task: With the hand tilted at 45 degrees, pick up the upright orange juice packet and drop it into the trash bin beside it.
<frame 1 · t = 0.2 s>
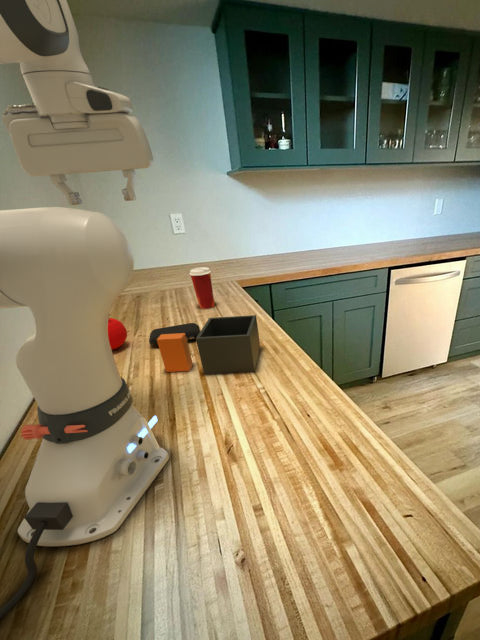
hand: (103, 202, 59), 39 cm above the table, tool pointing down, fingers open, 8 cm apart
tomato: (112, 349, 100), on the table
carrying case: (176, 340, 103), on the table
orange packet: (179, 368, 86), on the table
trash bin: (234, 360, 88), on the table
paper cup: (207, 306, 130), on the table
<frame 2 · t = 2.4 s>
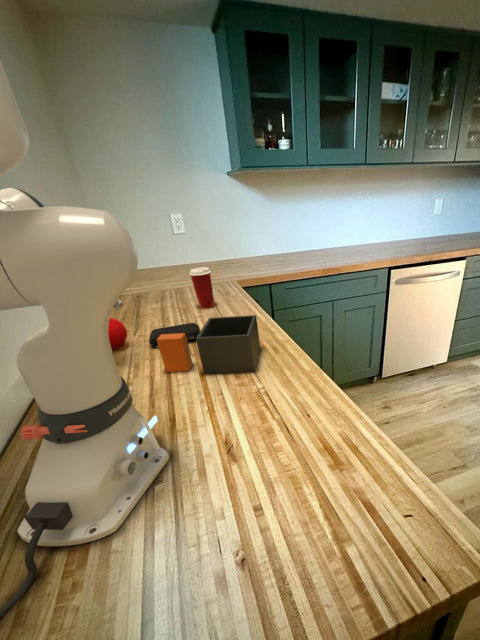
hand: (111, 313, 79), 15 cm above the table, tool tilted 45°, fingers open, 8 cm apart
nothing on the table moved.
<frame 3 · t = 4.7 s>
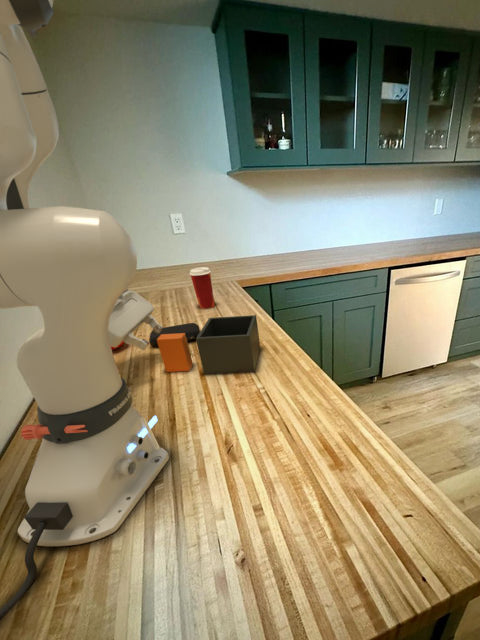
hand: (154, 338, 82), 9 cm above the table, tool tilted 45°, fingers open, 8 cm apart
nothing on the table moved.
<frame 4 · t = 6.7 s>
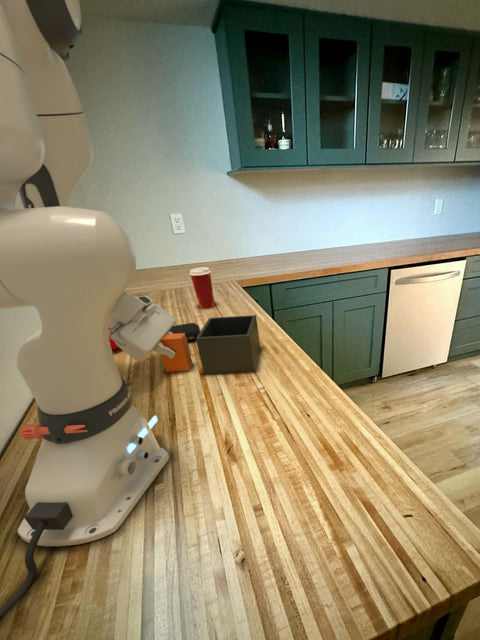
hand: (177, 351, 84), 5 cm above the table, tool tilted 45°, fingers closed on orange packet, 3 cm apart
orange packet: (179, 368, 86), on the table, touching gripper
everything else where it was.
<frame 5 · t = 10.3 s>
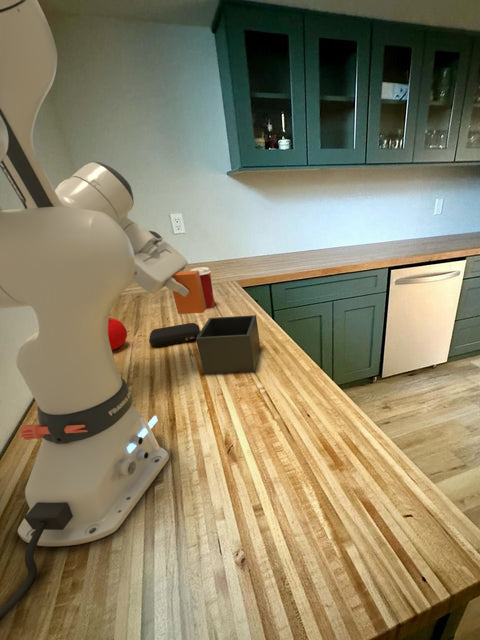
hand: (190, 290, 77), 19 cm above the table, tool tilted 45°, fingers closed on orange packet, 3 cm apart
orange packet: (192, 311, 80), point 14 cm above the table, touching gripper
everything else where it was.
when the fingers open (12 cm above the table, at t = 13.9 s): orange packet drops 7 cm, resting on trash bin.
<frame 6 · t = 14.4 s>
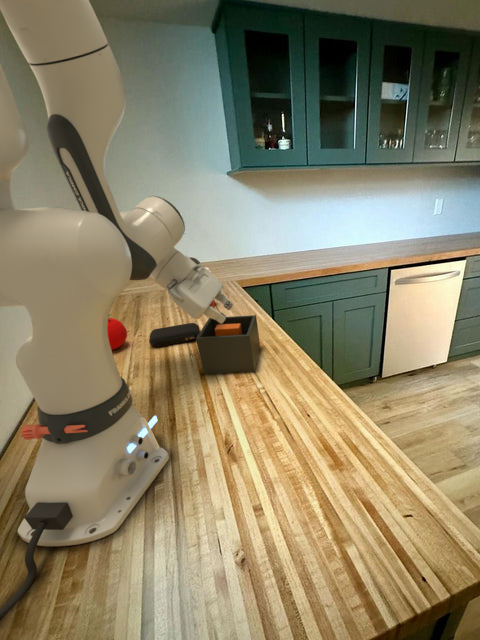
hand: (228, 313, 82), 13 cm above the table, tool tilted 45°, fingers open, 8 cm apart
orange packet: (233, 358, 88), point 1 cm above the table, touching trash bin
everything else where it was.
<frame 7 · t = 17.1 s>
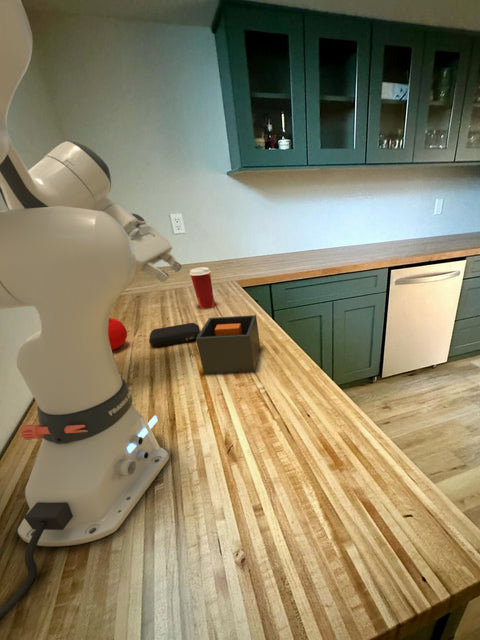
hand: (173, 273, 77), 23 cm above the table, tool tilted 45°, fingers open, 8 cm apart
nothing on the table moved.
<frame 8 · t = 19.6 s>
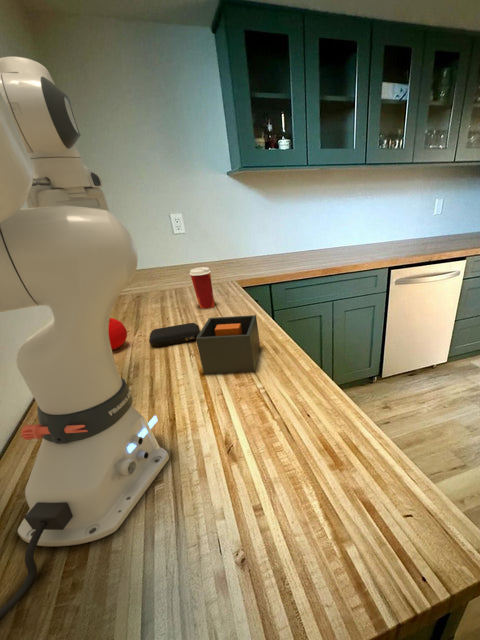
hand: (89, 255, 69), 29 cm above the table, tool pointing down, fingers open, 8 cm apart
nothing on the table moved.
at the end: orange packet inside the target area in the trash bin (0.1 cm from its centre), point 0.6 cm above the trash bin's base; the gripper is holding nothing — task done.
